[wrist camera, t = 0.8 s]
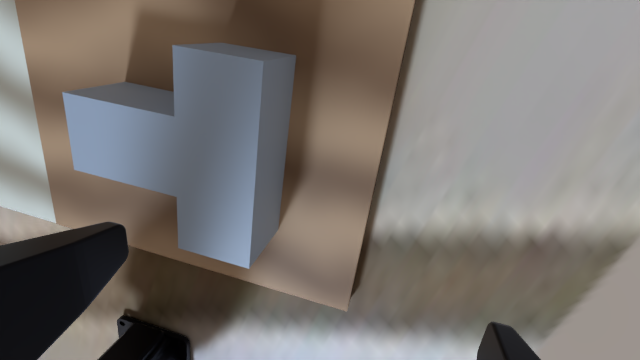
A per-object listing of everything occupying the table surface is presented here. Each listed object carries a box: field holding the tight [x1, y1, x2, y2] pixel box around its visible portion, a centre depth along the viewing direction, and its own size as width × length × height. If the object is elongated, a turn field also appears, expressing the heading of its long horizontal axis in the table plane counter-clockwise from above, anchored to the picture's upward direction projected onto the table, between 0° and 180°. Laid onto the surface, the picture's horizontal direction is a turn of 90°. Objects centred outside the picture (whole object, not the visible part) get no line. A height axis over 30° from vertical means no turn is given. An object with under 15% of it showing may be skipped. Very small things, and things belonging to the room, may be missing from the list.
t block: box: [62, 43, 296, 269], centre depth 19 cm, size 10×10×4 cm
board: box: [0, 0, 416, 311], centre depth 21 cm, size 19×33×4 cm, turn 81°
